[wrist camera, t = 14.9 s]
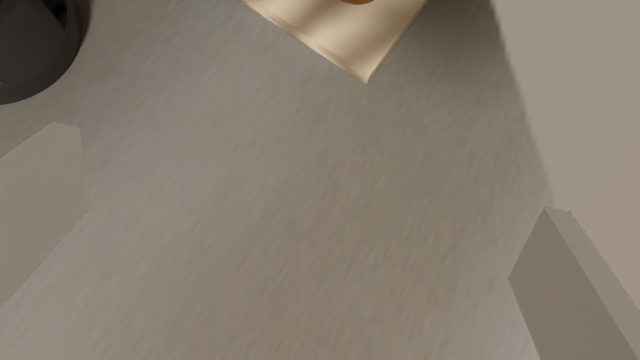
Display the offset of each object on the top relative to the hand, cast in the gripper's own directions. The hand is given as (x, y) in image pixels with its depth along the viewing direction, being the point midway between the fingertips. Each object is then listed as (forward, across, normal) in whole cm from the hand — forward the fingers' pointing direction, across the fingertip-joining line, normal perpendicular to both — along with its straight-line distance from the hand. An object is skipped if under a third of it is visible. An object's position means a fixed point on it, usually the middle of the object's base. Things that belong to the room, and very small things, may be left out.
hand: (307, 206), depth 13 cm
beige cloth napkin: (+41, 0, 0) cm, 41 cm away
